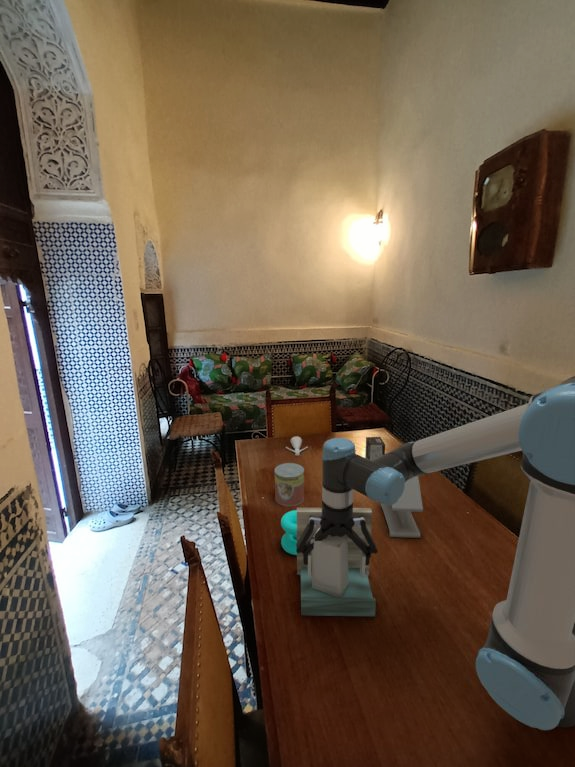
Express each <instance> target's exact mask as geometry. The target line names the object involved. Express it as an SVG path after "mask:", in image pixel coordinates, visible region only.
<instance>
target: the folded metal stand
mask: <svg viewBox="0 0 575 767" xmlns="http://www.w3.org/2000/svg"><path fill="white" fill-rule="evenodd" d="M419 479H420V478H419V476H416V477H413V478H411V479H409V480H408V481H406V482H405V487H404V491H403V494H402V496H401V497H399V499H398V501H397V502H396V503H395V504H393V505H385V504H382V503H380V502H379V506H380V508H382V512H383V514H384V517H385V521H386V523H387V527H388V530H389V531H388V536H389V537H390V538H409V539H410V538H411V539H413V538H414V539H415V538H416V539H420V538H421V531H420V529H419V527H418V525H417V523H416V521H415V518H414V516H413V514H412V512H414V513H418V512H419V513H422V512H423V511H424V507H423V499H422V493H421V487H420V481H419Z"/></svg>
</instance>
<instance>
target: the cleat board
mask: <svg viewBox="0 0 575 767" xmlns="http://www.w3.org/2000/svg"><path fill="white" fill-rule="evenodd" d="M296 510H297V542H298V540H299V538H300V537H301V535H302V533H303V532H304V530H305V528H306V526H307V525H308V523H309V516H310V515H313V516H314V518H321V516H322V507H296ZM361 515H362V516H364V519H365V523H366V527H367V529H368V531H369V533H370V535H371V536H372V521H373V519H372V518H373V512H372V508H371V507H353V519H354V518H359V516H361ZM320 527H321V525H320V524H318V525H317V527H316V528H314V529H313V532H312V534H311V535H310V537H309V539H308V541H309V540H310V539H311V538H312V537H313V536H314V535H315V533H316V532H317V530H318V529H319V528H320ZM352 529H353V530H354V531H355V533H356V534H357V535H358V536H359V537H360V538H361V539H362V540H363V541H364V542H365V543H366V544H367V545H368V546H369V544H368V542H367V540H366V538H365V536H364V535H363V533H362V530H361V528H359V527H358V526H357V525H356V524H354V526H353V527H352ZM308 541H307V542H308ZM307 542H306V543H307ZM360 557H361V549H360V548H359V547H358V546H357V545H356V544H355V543H354V542H353V541H352V540H351V539H349V538H348V585H347V587H346V589H345V591H344V593H343V596H342V597H335V596H332V595H330V594H327V593H324V592H322V591H319V590H317V589H314V588H312V565H311V578H308V565H304V563H303V553H301V552H300V553H297V555H296V575H297V576H298V575H299V576H300V616H318V617H320V616H325V617H326V616H329V617H333V616H334V617H338V616H339V617H376V605H377V604H376V603H377V599H376V597H373V593H372V589H371V588H372V587H371V585H370V580H369V576H370V562H371V561H370V562H369V565H365V578H361V573H360Z"/></svg>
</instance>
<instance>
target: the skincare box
mask: <svg viewBox="0 0 575 767" xmlns="http://www.w3.org/2000/svg"><path fill="white" fill-rule="evenodd" d="M319 530H320V528H319V529H318V530H317V532H318V531H319ZM317 532H316V533H317ZM316 533H315V534H316ZM314 541H315V536H313V538H312V539H311V540H310V543H311V544H312V543H313V542H314ZM311 565H312V588H314V589H317V590H319V591H322V592H324V593H327V594H330V595H332V596H335V597H342V596H343V593H344V591H345V589H346V587H347V585H348V537H347V536H346V535H344V536H343V537H340V536H334V537H332V536H331V535H328V536H327V537H326V538H325V539H323V540H322V541H315V542H314V549H313V550H312V551H311Z"/></svg>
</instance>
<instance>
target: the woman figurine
mask: <svg viewBox="0 0 575 767" xmlns="http://www.w3.org/2000/svg"><path fill="white" fill-rule="evenodd" d="M302 442H303V439H302V438H301V437H300V436H293V437H291V439H290V444H291V447H292V448H293V449H292V448H289V447H288V446H285V449H287V450H289V451H291V452H293V454H294V453H295V454H294V456H295V457H300V456H301V454H300V453H301V452H302V451H304V450H306V449H308V448H309V446H306V447H304V448H302V449H301V447H302V444H303V443H302Z"/></svg>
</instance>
